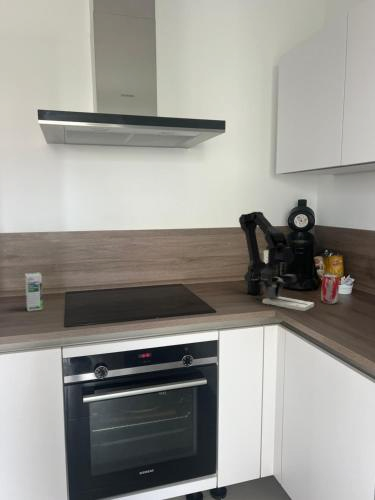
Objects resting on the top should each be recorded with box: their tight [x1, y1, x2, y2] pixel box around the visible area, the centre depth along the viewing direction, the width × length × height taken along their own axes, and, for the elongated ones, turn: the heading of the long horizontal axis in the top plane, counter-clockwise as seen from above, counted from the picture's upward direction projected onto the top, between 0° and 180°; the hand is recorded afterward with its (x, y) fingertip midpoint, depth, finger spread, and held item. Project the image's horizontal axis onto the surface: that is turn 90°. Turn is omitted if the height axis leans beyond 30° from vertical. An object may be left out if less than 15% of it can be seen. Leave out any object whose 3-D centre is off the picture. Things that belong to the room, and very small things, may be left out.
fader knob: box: [267, 284, 280, 299], centre depth 170 cm, size 3×5×5 cm, turn 140°
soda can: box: [320, 274, 340, 305], centre depth 170 cm, size 7×7×12 cm
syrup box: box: [24, 272, 44, 312], centre depth 155 cm, size 6×6×14 cm
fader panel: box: [262, 296, 315, 312], centre depth 166 cm, size 19×10×2 cm, turn 50°
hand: (273, 295), depth 170 cm, fingers open, 3 cm apart
